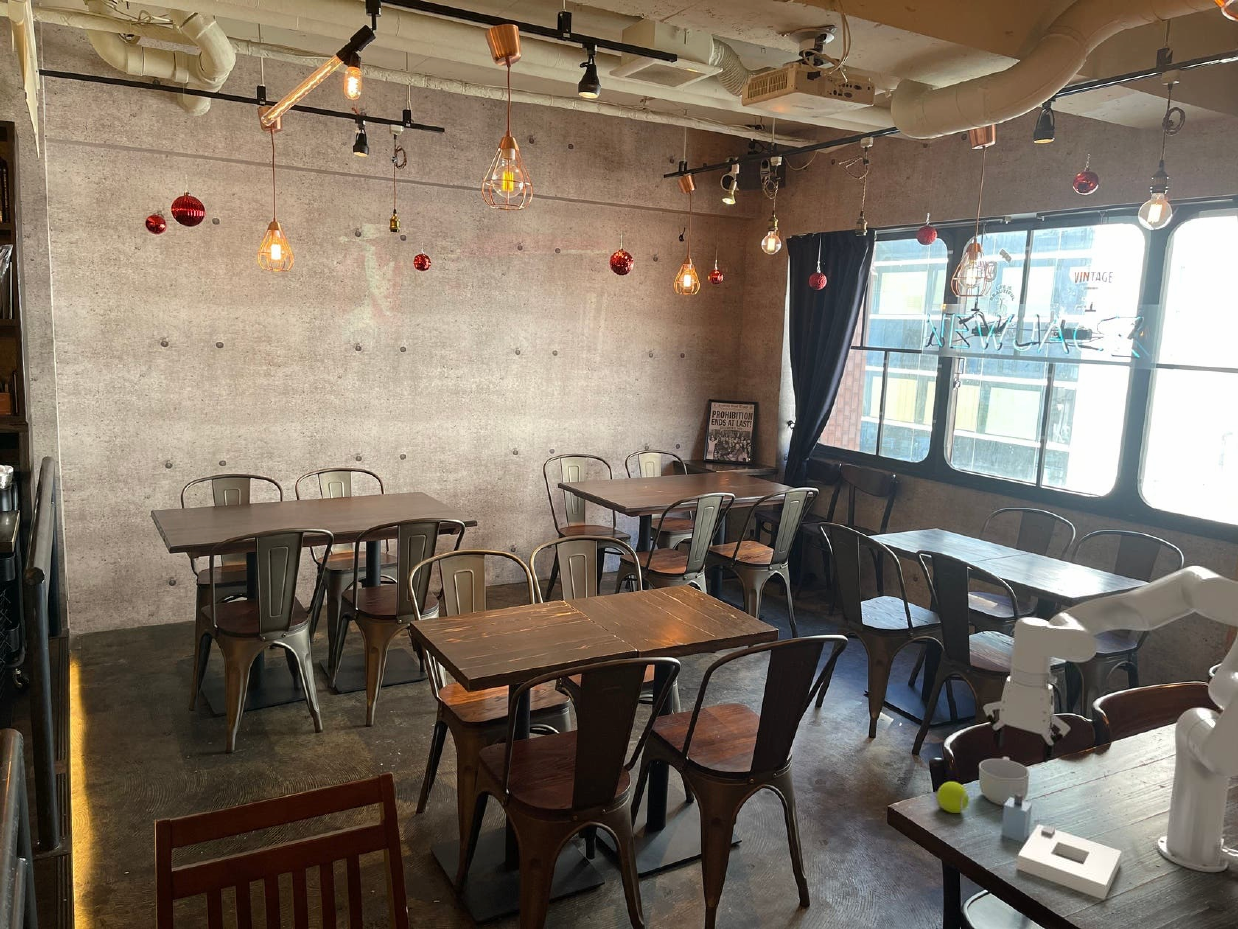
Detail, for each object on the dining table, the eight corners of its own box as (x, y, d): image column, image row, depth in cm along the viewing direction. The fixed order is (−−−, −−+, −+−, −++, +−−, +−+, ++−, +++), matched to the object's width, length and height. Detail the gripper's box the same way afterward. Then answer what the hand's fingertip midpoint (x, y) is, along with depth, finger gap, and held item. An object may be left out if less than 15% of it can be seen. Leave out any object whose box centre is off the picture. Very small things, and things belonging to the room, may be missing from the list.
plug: (1028, 834, 199) (1032, 795, 198) (1023, 842, 196) (1027, 802, 195) (1007, 827, 202) (1010, 788, 201) (1001, 835, 199) (1005, 795, 197)
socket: (1120, 865, 188) (1122, 847, 188) (1104, 900, 176) (1106, 881, 175) (1037, 837, 198) (1038, 820, 198) (1016, 868, 186) (1018, 851, 185)
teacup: (1019, 816, 207) (1022, 782, 206) (970, 801, 214) (973, 768, 213) (1034, 793, 218) (1037, 761, 217) (987, 779, 225) (990, 748, 224)
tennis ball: (942, 801, 213) (945, 773, 212) (971, 811, 209) (974, 783, 208) (931, 811, 208) (933, 783, 207) (960, 822, 204) (963, 793, 203)
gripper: (1078, 682, 192) (1070, 760, 195) (992, 662, 203) (986, 736, 205) (1069, 692, 187) (1061, 772, 189) (982, 671, 197) (975, 747, 199)
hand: (1022, 753), depth 197 cm, fingers open, 9 cm apart
